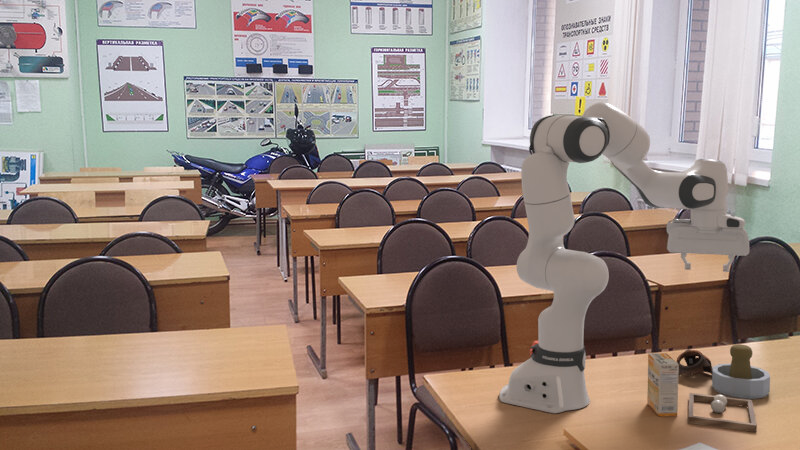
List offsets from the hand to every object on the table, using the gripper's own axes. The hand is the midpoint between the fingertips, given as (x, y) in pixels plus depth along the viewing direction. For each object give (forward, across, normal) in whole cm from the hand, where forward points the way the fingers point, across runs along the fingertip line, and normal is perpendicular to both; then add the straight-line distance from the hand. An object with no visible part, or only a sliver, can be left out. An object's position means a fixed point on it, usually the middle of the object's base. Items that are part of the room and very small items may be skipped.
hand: (706, 270), depth 182 cm
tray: (+30, +4, -26) cm, 40 cm away
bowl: (+30, +9, -7) cm, 32 cm away
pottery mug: (+30, -2, +1) cm, 30 cm away
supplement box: (+30, -9, -28) cm, 43 cm away
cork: (+29, +9, -7) cm, 31 cm away
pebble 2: (+28, +3, -24) cm, 37 cm away
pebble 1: (+30, +4, -21) cm, 37 cm away
